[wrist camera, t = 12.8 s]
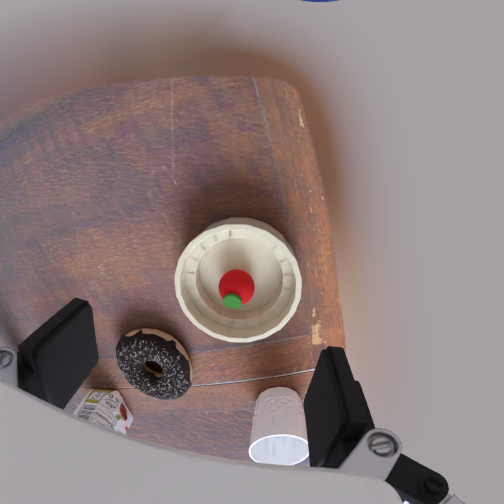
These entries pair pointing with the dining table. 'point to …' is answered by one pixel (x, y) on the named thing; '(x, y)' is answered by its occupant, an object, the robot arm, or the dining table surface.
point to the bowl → (243, 258)
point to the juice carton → (105, 410)
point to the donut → (162, 351)
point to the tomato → (236, 288)
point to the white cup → (278, 428)
